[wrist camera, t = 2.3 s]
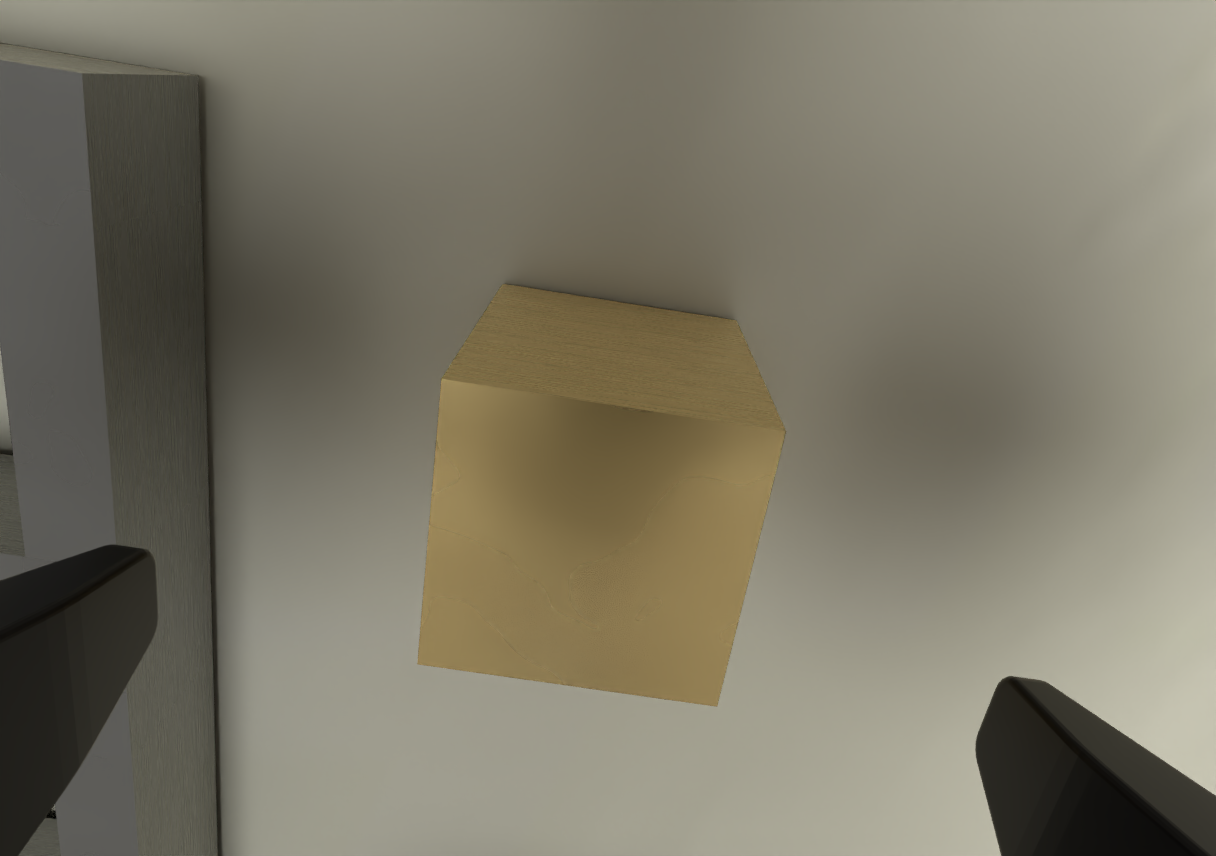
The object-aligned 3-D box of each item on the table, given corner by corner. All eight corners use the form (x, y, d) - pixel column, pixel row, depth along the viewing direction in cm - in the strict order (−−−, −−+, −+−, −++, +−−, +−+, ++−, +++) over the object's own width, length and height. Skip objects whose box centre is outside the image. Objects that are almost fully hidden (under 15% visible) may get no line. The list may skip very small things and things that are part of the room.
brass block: (736, 320, 14) (786, 431, 10) (692, 526, 16) (716, 706, 11) (502, 283, 14) (441, 378, 10) (480, 494, 16) (416, 664, 11)
